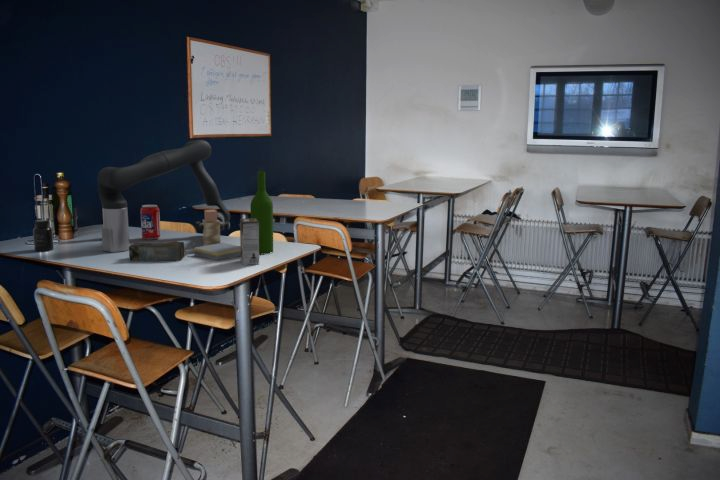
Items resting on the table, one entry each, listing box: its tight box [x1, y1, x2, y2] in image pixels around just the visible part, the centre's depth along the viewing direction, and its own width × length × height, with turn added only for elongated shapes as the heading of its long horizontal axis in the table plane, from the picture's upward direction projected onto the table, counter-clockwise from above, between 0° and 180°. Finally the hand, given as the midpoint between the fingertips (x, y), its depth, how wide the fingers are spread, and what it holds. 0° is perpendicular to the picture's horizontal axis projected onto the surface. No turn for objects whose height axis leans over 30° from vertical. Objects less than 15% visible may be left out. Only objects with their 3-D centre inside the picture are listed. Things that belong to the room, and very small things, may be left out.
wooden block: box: [202, 219, 221, 246], centre depth 240 cm, size 6×6×12 cm
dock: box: [193, 242, 241, 261], centre depth 230 cm, size 14×14×3 cm
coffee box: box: [239, 217, 260, 266], centre depth 218 cm, size 9×6×16 cm
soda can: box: [140, 204, 161, 241], centre depth 260 cm, size 8×8×15 cm
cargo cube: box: [204, 209, 217, 222], centre depth 239 cm, size 4×4×4 cm
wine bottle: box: [250, 171, 274, 254], centre depth 235 cm, size 9×9×32 cm
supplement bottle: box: [32, 219, 54, 252], centre depth 233 cm, size 7×7×12 cm
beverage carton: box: [128, 240, 186, 262], centre depth 222 cm, size 8×19×7 cm, turn 97°
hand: (211, 228), depth 239 cm, fingers open, 7 cm apart
